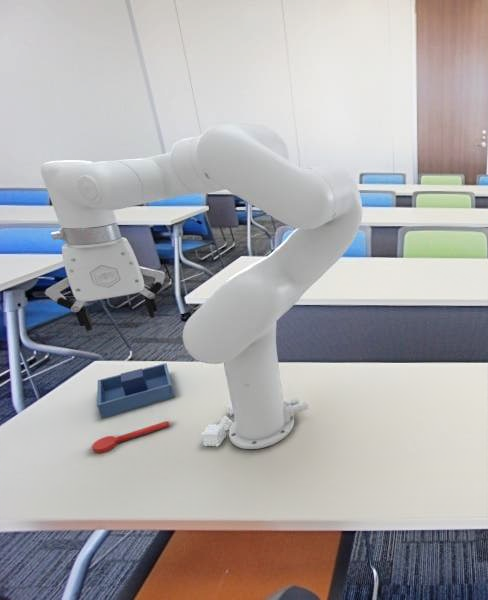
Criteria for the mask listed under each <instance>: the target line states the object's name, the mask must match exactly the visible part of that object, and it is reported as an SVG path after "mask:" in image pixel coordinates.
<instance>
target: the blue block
mask: <svg viewBox="0 0 488 600" xmlns="http://www.w3.org/2000/svg"><path fill="white" fill-rule="evenodd" d="M142 369H143V368H139V369H133V370H130V371H125V372H122V373H120V374H121V383H122V386H123V389H124V392H125V395H126V396H128V395H132V394H135V393H139V392H143V391H146V390H148V387H147V383H146V380H145V376H144V373H143V370H142Z"/></svg>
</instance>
